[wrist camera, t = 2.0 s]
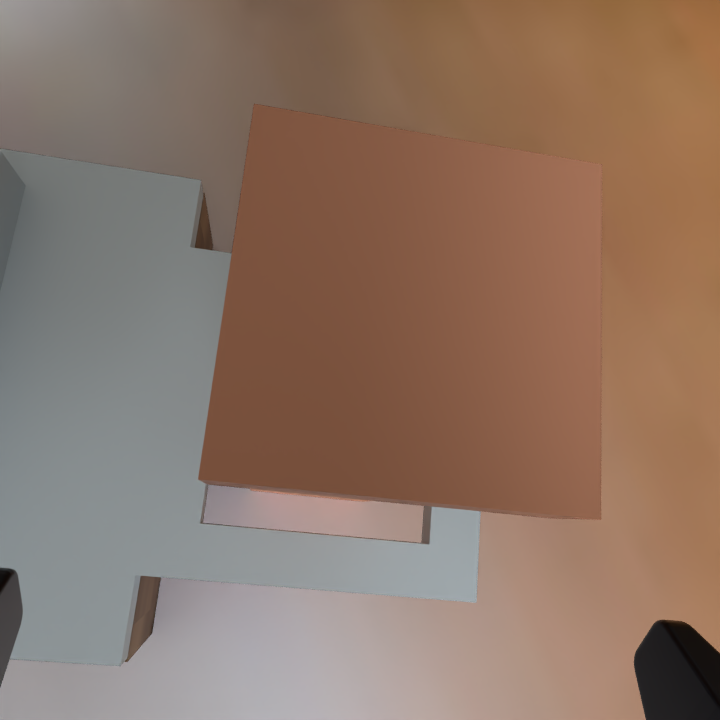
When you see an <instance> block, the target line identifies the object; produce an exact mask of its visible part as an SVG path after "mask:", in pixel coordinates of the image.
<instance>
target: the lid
mask: <svg viewBox="0 0 720 720" xmlns="http://www.w3.org/2000/svg"><path fill="white" fill-rule="evenodd" d="M203 195H204V194H203V188H202V182H201V180H198V179H191V178H185V177H178V176H172V175H166V174H159V173H153V172H147V171H140V170H134V169H128V168H121V167H115V166H109V165H102V164H96V163H90V162H83V161H77V160H71V159H64V158H58V157H51V156H45V155H39V154H32V153H26V152H20V151H13V150H7V149H1V148H0V567H1V568H11V569H14V570H15V571H16V572H17V574H18V578H19V585H20V591H21V598H22V605H23V616H22V622H21V626H20V629H19V632H18V635H17V638H16V641H15V644H14V647H13V650H12V653H11V656H10V659H13V660H29V661H45V662H61V663H77V664H93V665H109V666H121V665H122V664H123V663H124V661H125V660H126V659H127V657H128V651H129V645H130V639H131V633H132V626H133V620H134V614H135V608H136V602H137V596H138V590H139V584H140V578H141V576H150V577H163V578H175V579H188V580H200V581H213V582H225V583H238V584H250V585H263V586H275V587H288V588H300V589H312V590H325V591H337V592H350V593H362V594H375V595H387V596H400V597H412V598H425V599H437V600H450V601H462V602H475V603H476V598H477V577H478V555H479V533H480V512H481V511H472V510H462V509H451V508H441V507H431V506H424V512H423V527H422V542H421V543H417V542H406V541H395V540H384V539H373V538H362V537H351V536H340V535H329V534H318V533H307V532H296V531H285V530H274V529H264V528H253V527H242V526H231V525H220V524H209V523H203V518H204V511H205V504H206V497H207V490H208V484H205V483H204V482H202V481H200V480H198V475H199V469H200V462H201V455H202V449H203V442H204V435H205V429H206V422H207V415H208V408H209V402H210V395H211V388H212V382H213V375H214V368H215V362H216V355H217V348H218V342H219V335H220V328H221V321H222V315H223V308H224V301H225V295H226V288H227V281H228V275H229V268H230V261H231V255H232V253H227V252H220V251H213V250H206V249H199V248H195V243H196V237H197V231H198V225H199V219H200V213H201V207H202V201H203Z"/></svg>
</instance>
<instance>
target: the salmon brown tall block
mask: <svg viewBox="0 0 720 720" xmlns="http://www.w3.org/2000/svg"><path fill="white" fill-rule="evenodd" d="M601 392H602V164H597V163H591V162H586V161H580V160H574V159H568V158H563V157H557V156H551V155H545V154H540V153H534V152H528V151H522V150H517V149H511V148H505V147H499V146H494V145H488V144H482V143H476V142H471V141H465V140H459V139H454V138H448V137H442V136H436V135H431V134H425V133H419V132H413V131H408V130H402V129H396V128H390V127H385V126H379V125H373V124H367V123H362V122H356V121H350V120H344V119H339V118H333V117H327V116H321V115H316V114H310V113H304V112H298V111H293V110H287V109H281V108H275V107H270V106H264V105H258V104H254V107H253V114H252V121H251V127H250V134H249V141H248V147H247V154H246V161H245V168H244V174H243V181H242V188H241V194H240V201H239V208H238V214H237V221H236V228H235V234H234V241H233V248H232V255H231V261H230V268H229V275H228V281H227V288H226V295H225V301H224V308H223V315H222V321H221V328H220V335H219V342H218V348H217V355H216V362H215V368H214V375H213V382H212V388H211V395H210V402H209V408H208V415H207V422H206V429H205V435H204V442H203V449H202V455H201V462H200V469H199V475H198V480H200V481H202V482H204V483H205V484H209V485H219V486H229V487H239V488H249V489H251V491H261V492H271V493H281V494H291V495H302V496H312V497H322V498H332V499H342V500H352V501H362V502H364V501H381V502H391V503H401V504H411V505H421V506H431V507H441V508H451V509H462V510H472V511H482V512H492V513H502V514H512V515H522V516H532V517H542V518H555V519H596V520H601Z"/></svg>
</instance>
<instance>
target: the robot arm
mask: <svg viewBox="0 0 720 720" xmlns="http://www.w3.org/2000/svg"><path fill="white" fill-rule="evenodd" d="M22 616H23V605H22V598H21V591H20V585H19V578H18V574H17V572H16V571H15V570H14V569H11V568H1V567H0V687H1V684H2V680H3V677H4V674H5V671H6V668H7V665H8V662H9V659H10V656H11V653H12V650H13V647H14V644H15V641H16V638H17V635H18V632H19V629H20V626H21V622H22ZM634 668H635V673H636V678H637V682H638V687H639V691H640V695H641V700H642V704H643V709H644V713H645V718H646V720H720V653H719V652H718V651H717V650H716V649H715V648H714V647H713V646H712V645H710V644H709V643H708V642H707V641H706V640H705V639H704V638H703V637H702V636H701V635H700V634H699V633H698V632H697V631H696V630H695V629H694V628H692V627H691V626H690V625H689V624H687V623H685V622H682V621H673V620H659V621H656V622H655V623H654V624H653V626H652V627H651V629H650V630H649V632H648V633H647V635H646V636H645V638H644V639H643V641H642V643H641V644H640V646H639V647H638V649H637V651H636V653H635V657H634Z"/></svg>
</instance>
